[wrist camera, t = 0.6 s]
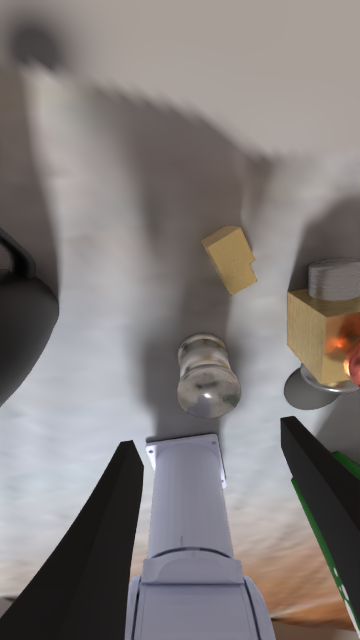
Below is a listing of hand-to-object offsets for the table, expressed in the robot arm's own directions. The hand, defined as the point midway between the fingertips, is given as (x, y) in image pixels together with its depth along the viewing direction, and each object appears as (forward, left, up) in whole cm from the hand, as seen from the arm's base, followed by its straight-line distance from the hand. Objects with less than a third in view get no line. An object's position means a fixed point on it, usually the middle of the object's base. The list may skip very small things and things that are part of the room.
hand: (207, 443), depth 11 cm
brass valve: (+1, -11, -9) cm, 14 cm away
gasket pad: (-7, -10, -9) cm, 16 cm away
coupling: (-1, 0, -9) cm, 9 cm away
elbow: (+7, -4, -10) cm, 12 cm away
